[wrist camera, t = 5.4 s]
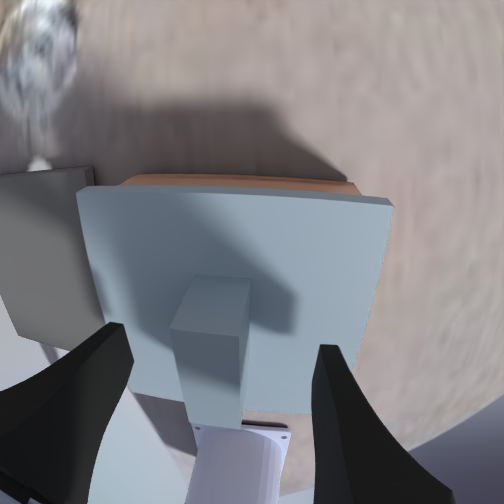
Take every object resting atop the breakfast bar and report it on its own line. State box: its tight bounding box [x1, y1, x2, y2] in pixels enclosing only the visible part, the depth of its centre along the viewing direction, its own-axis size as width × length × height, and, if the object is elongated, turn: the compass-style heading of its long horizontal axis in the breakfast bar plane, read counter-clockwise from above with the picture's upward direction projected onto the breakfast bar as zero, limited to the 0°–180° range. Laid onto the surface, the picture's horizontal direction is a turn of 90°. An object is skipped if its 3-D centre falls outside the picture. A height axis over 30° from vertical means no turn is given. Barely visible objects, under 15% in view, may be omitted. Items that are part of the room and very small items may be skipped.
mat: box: [0, 166, 106, 351], centre depth 17 cm, size 13×11×1 cm
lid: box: [76, 185, 394, 429], centre depth 12 cm, size 11×11×4 cm
